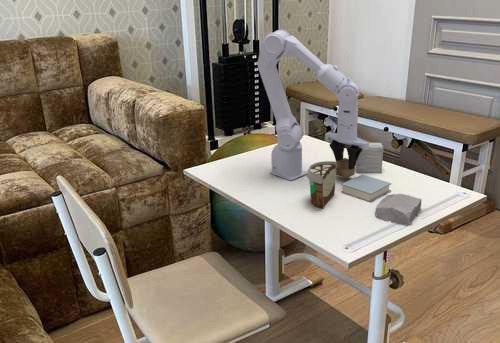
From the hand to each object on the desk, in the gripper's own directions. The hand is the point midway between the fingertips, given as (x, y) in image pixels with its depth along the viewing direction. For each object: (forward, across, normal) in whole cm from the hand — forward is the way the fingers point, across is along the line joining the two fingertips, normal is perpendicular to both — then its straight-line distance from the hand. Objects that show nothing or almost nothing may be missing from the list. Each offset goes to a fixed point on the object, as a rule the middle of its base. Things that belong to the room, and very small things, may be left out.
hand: (345, 166), depth 151 cm
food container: (+4, -4, +17) cm, 18 cm away
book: (+4, -10, +3) cm, 11 cm away
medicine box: (+4, -1, -11) cm, 11 cm away
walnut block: (+3, 0, 0) cm, 3 cm away
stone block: (+4, -24, +9) cm, 26 cm away
